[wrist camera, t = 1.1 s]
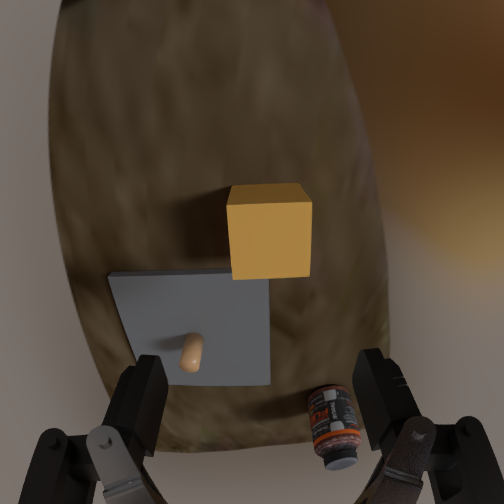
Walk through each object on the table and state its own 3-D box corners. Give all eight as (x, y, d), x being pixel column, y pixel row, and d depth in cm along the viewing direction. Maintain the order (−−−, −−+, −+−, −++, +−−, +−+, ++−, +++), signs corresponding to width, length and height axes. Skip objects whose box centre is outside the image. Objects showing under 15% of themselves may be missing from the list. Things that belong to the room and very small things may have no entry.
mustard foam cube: (232, 185, 25) (226, 205, 19) (298, 182, 25) (311, 201, 19) (236, 246, 27) (232, 280, 22) (297, 243, 27) (309, 276, 21)
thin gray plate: (111, 271, 28) (90, 298, 24) (267, 266, 28) (271, 295, 23) (147, 377, 35) (138, 405, 30) (269, 378, 35) (271, 410, 30)
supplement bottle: (316, 381, 35) (331, 455, 25) (355, 384, 36) (376, 452, 26) (300, 406, 38) (309, 474, 27) (336, 408, 38) (351, 472, 28)
